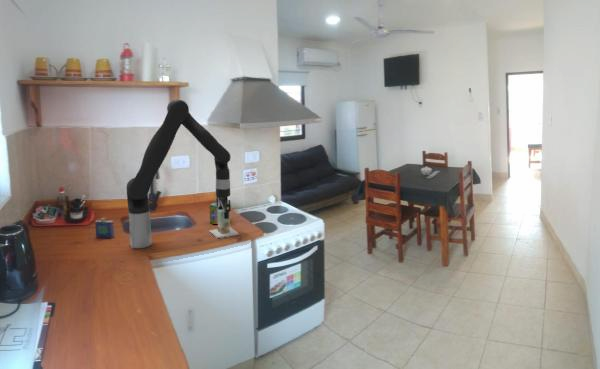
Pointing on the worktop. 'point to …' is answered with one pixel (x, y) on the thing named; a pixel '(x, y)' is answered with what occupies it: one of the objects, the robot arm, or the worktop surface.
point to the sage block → (222, 216)
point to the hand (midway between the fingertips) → (223, 216)
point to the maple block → (224, 227)
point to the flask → (104, 229)
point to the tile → (219, 235)
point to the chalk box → (213, 213)
